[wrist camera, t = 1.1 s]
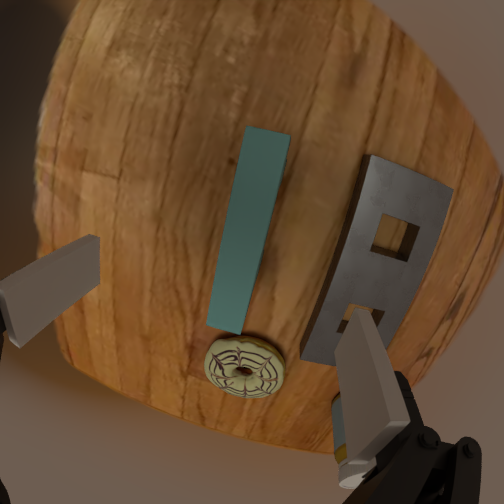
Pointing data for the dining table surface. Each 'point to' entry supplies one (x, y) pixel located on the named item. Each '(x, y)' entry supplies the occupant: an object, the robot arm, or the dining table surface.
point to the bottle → (347, 472)
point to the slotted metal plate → (377, 255)
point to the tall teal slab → (247, 226)
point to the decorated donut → (245, 355)
